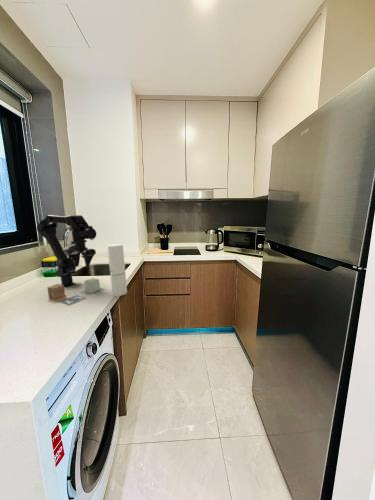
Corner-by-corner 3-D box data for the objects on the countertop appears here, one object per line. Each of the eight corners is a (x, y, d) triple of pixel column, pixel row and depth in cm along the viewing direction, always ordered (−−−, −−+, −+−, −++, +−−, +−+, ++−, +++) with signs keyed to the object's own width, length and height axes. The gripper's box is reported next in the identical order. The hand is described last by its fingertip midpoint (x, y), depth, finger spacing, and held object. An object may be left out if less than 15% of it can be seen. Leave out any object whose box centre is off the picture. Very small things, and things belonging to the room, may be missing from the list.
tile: (58, 302, 95) (58, 301, 95) (76, 295, 103) (76, 295, 103) (69, 306, 91) (69, 305, 91) (87, 298, 98) (87, 298, 98)
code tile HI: (80, 292, 106) (79, 292, 106) (95, 287, 114) (95, 286, 114) (90, 295, 102) (90, 295, 102) (105, 289, 109) (105, 289, 109)
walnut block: (49, 298, 99) (47, 287, 98) (59, 295, 103) (57, 283, 102) (54, 300, 97) (52, 288, 96) (65, 296, 101) (63, 285, 100)
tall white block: (122, 290, 108) (117, 243, 104) (130, 292, 104) (125, 244, 99) (109, 294, 103) (104, 245, 98) (117, 297, 98) (112, 246, 94)
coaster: (44, 300, 99) (44, 299, 99) (61, 294, 105) (61, 293, 105) (53, 303, 95) (53, 302, 95) (70, 296, 101) (70, 296, 101)
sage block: (85, 291, 107) (84, 280, 106) (94, 288, 111) (92, 278, 110) (91, 293, 104) (90, 282, 103) (100, 289, 109) (98, 279, 108)
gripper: (53, 240, 108) (58, 268, 110) (74, 241, 98) (78, 272, 101) (74, 237, 117) (77, 264, 120) (94, 238, 108) (98, 267, 110)
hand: (82, 266), depth 113 cm, fingers open, 9 cm apart
